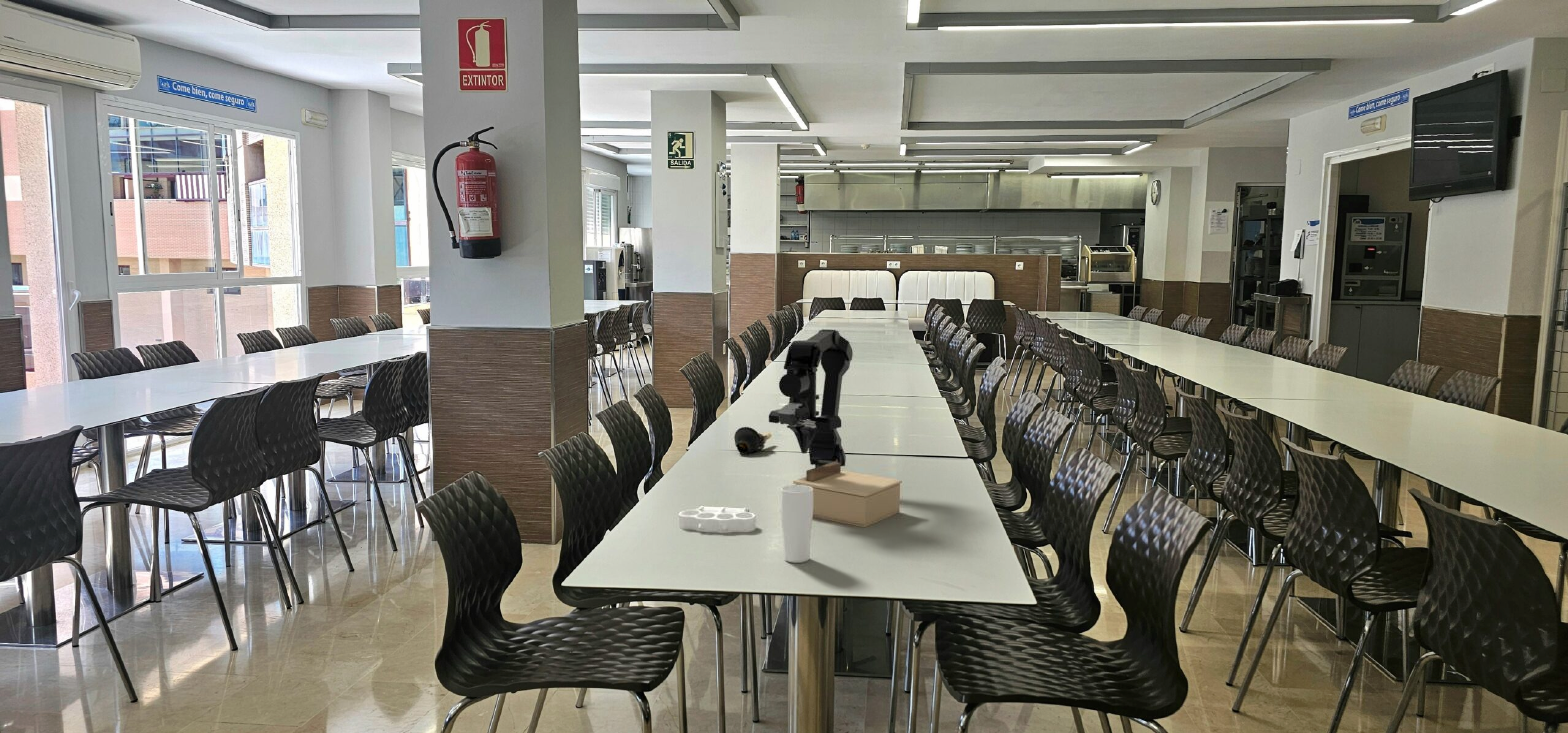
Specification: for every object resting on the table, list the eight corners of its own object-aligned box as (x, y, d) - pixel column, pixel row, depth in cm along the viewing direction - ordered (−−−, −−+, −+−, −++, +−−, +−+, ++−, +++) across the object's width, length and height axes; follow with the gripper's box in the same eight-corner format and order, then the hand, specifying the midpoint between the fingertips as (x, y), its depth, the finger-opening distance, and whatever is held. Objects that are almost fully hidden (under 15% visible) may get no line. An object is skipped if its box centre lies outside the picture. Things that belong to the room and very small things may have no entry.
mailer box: (794, 512, 226) (794, 484, 225) (831, 499, 239) (831, 472, 238) (864, 527, 214) (865, 497, 213) (899, 512, 227) (900, 484, 226)
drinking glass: (779, 554, 194) (779, 484, 193) (811, 554, 195) (811, 484, 193) (781, 565, 188) (782, 493, 186) (815, 564, 188) (815, 492, 186)
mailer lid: (793, 483, 225) (793, 470, 225) (831, 471, 238) (831, 459, 238) (865, 496, 213) (865, 483, 212) (901, 482, 226) (902, 470, 226)
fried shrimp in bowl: (723, 440, 291) (741, 413, 306) (740, 469, 294) (756, 441, 309) (748, 431, 287) (764, 405, 302) (765, 461, 290) (780, 433, 305)
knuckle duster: (762, 519, 222) (750, 538, 207) (689, 516, 224) (672, 534, 210) (762, 505, 221) (750, 523, 207) (689, 502, 224) (672, 519, 210)
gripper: (755, 391, 230) (755, 453, 232) (816, 399, 219) (816, 464, 221) (782, 386, 239) (781, 446, 241) (842, 393, 228) (842, 456, 230)
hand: (804, 453), depth 233 cm, fingers closed
